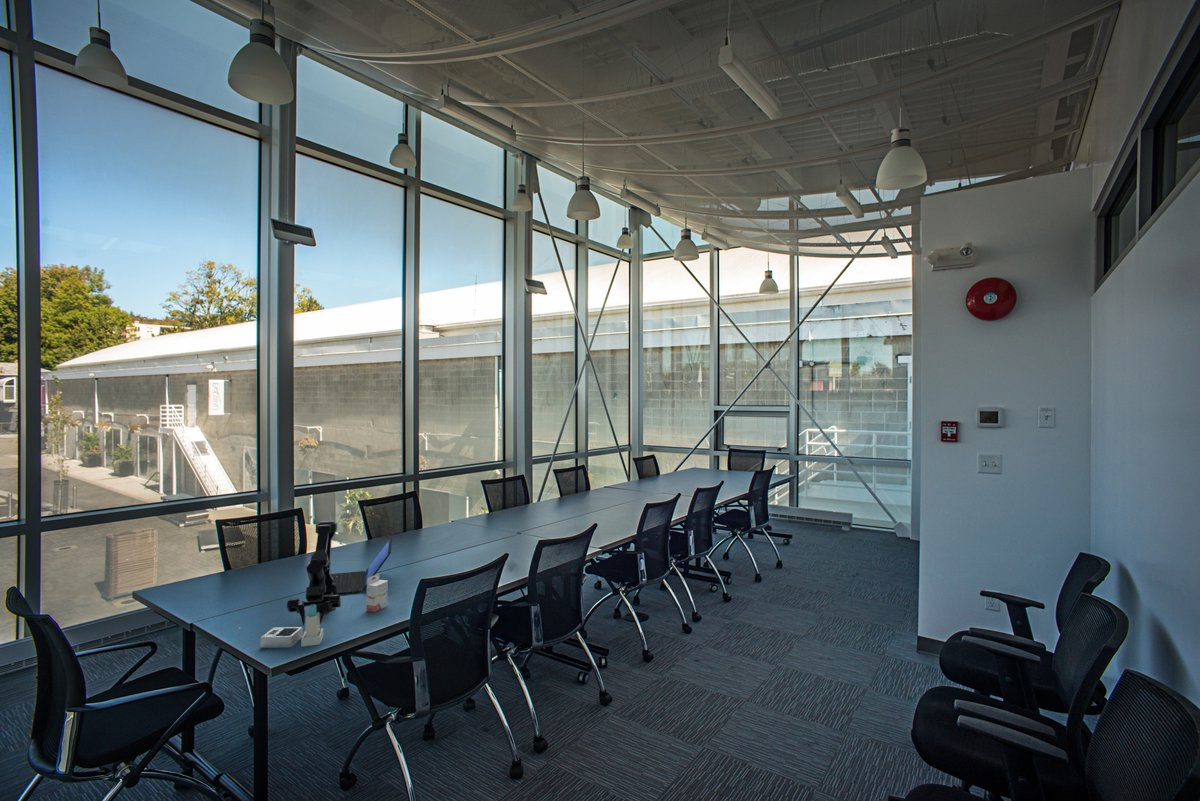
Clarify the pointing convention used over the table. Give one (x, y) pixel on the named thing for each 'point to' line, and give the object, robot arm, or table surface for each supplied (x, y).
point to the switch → (281, 637)
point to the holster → (312, 639)
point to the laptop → (360, 574)
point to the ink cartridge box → (376, 593)
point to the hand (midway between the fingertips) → (312, 624)
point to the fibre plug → (312, 622)
